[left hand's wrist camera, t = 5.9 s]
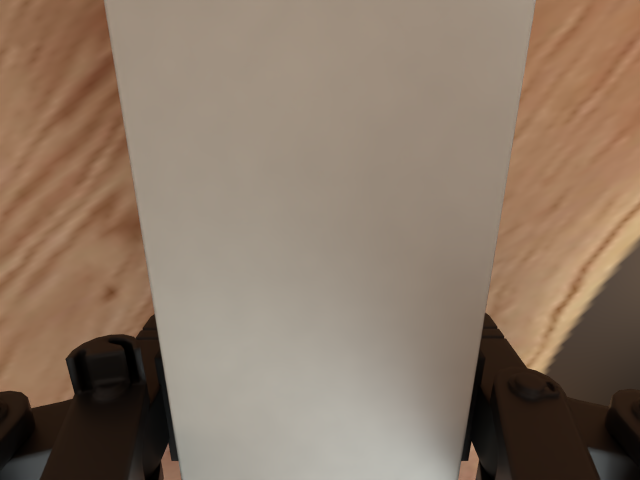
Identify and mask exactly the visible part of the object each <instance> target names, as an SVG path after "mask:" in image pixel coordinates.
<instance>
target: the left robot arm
mask: <svg viewBox="0 0 640 480" xmlns="http://www.w3.org/2000/svg"><path fill="white" fill-rule="evenodd" d="M66 362H67V366H68V370H69V374H70V378H71V382H72V385H73V389H74V393H75V395H74V397H73V399H70V400H67V401H63V402H59V403H54V404H49V405H45V406H40V407H36V408H31V406H30V403H29V400H28V397H27V396H25V395H24V394H23V393H22V392H15V391H5V392H0V480H163V479H164V476H163V469H162V464H161V459H162V456H163V454H164V452H165V449H166V447H167V445H168V442H169V448H170V454H171V460H172V461H179V460H178V454H177V447H176V441H175V435H174V429H173V423H172V417H171V411H170V404H169V398H168V392H167V386H166V380H165V374H164V367H163V361H162V355H161V349H160V343H159V337H158V330H157V324H156V318H155V314H154V315H153V316H151V317H150V319H149V320H148V321H147V323H146V324H145V326H144V327H143V330H141V331H140V333H139V334H138V335H137V337H136V339H135V338H134V337H132V336H128V335H124V334H119V335H107V336H103V337H98V338H95V339H93V340H90V341H88V342H86V343H83V344H82V345H80V346H79V347H77V348H76V349H74V350H73V351H72V352H71V353H70V354H69V355H68V357H67V358H66ZM471 441H472V443H473V446H474V448H475V450H476V453H477V455H478V457H479V464H478V469H477V474H476V480H640V390H634V389H626V390H619V391H618V392H616V393H615V394H614V395H613V396H612V399H611V402H610V405H609V407H608V406H603V405H599V404H594V403H589V402H584V401H580V400H576V399H572V398H569V397H567V396H566V394H565V392H564V391H563V389H562V388H561V387H560V385H559V384H558V383H556V382H555V381H554V380H552V379H551V378H550V377H548V376H546V375H544V374H542V373H540V372H538V371H536V370H532V369H528V368H527V367H526V366H525V364H524V363H523V362H522V360H521V359H520V358H519V356H518V355H517V353H516V352H515V351H514V349H513V348H512V346H511V345H510V344H509V342H508V341H507V340H506V339H504V335H503V334H502V333H501V331H500V330H499V329H497V326H496V324H495V323H494V321H493V320H492V319H491V317H490V316H489V315H488V314H486V313H485V316H484V323H483V329H482V335H481V341H480V347H479V353H478V359H477V366H476V372H475V378H474V384H473V390H472V396H471V403H470V409H469V415H468V421H467V427H466V433H465V439H464V446H463V452H462V458H461V461H468V458H469V453H470V447H471Z"/></svg>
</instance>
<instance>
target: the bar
mask: <svg viewBox="0 0 640 480" xmlns="http://www.w3.org/2000/svg"><path fill="white" fill-rule="evenodd" d="M535 2H536V0H104V4H105V10H106V16H107V23H108V29H109V35H110V41H111V47H112V53H113V60H114V66H115V72H116V78H117V84H118V90H119V96H120V103H121V109H122V115H123V121H124V127H125V133H126V140H127V146H128V152H129V158H130V164H131V170H132V177H133V183H134V189H135V195H136V201H137V207H138V213H139V220H140V226H141V232H142V238H143V244H144V250H145V257H146V263H147V269H148V275H149V281H150V287H151V294H152V300H153V306H154V312H155V318H156V324H157V330H158V337H159V343H160V349H161V355H162V361H163V367H164V374H165V380H166V386H167V392H168V398H169V404H170V411H171V417H172V423H173V429H174V435H175V441H176V447H177V454H178V460H179V466H180V472H181V478H182V480H458V476H459V470H460V464H461V458H462V452H463V446H464V439H465V433H466V427H467V421H468V415H469V409H470V403H471V396H472V390H473V384H474V378H475V372H476V366H477V359H478V353H479V347H480V341H481V335H482V329H483V323H484V316H485V310H486V304H487V298H488V292H489V286H490V279H491V273H492V267H493V261H494V255H495V249H496V243H497V236H498V230H499V224H500V218H501V212H502V206H503V199H504V193H505V187H506V181H507V175H508V169H509V163H510V156H511V150H512V144H513V138H514V132H515V126H516V119H517V113H518V107H519V101H520V95H521V89H522V82H523V76H524V70H525V64H526V58H527V52H528V46H529V39H530V33H531V27H532V21H533V15H534V9H535Z"/></svg>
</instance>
